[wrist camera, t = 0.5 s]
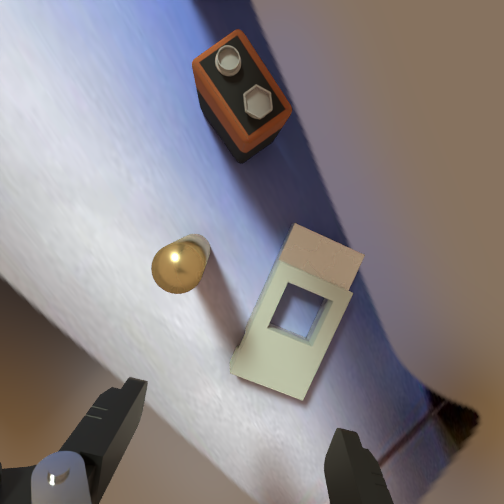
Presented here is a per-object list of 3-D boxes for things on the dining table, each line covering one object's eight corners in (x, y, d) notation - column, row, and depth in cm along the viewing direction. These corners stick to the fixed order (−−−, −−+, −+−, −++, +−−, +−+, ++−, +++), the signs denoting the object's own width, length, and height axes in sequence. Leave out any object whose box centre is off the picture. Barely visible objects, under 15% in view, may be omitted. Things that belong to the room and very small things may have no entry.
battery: (239, 166, 31) (247, 142, 22) (198, 107, 30) (186, 53, 21) (275, 140, 31) (299, 105, 22) (235, 80, 30) (240, 14, 21)
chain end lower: (312, 355, 34) (315, 360, 33) (244, 328, 33) (245, 332, 32) (360, 253, 33) (365, 255, 32) (292, 222, 32) (294, 223, 31)
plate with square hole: (276, 258, 33) (280, 261, 30) (343, 288, 34) (353, 293, 31) (229, 362, 33) (230, 373, 31) (297, 388, 34) (302, 400, 32)
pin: (185, 228, 32) (163, 235, 20) (215, 241, 32) (211, 255, 20) (173, 258, 32) (143, 282, 20) (202, 270, 32) (191, 301, 20)
